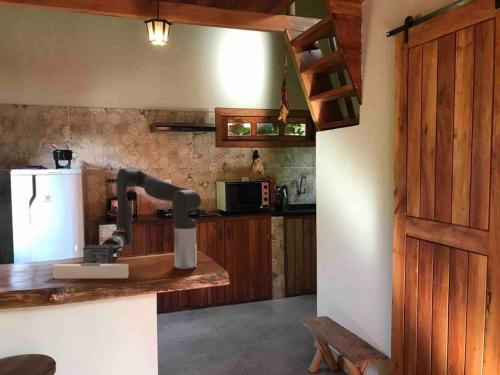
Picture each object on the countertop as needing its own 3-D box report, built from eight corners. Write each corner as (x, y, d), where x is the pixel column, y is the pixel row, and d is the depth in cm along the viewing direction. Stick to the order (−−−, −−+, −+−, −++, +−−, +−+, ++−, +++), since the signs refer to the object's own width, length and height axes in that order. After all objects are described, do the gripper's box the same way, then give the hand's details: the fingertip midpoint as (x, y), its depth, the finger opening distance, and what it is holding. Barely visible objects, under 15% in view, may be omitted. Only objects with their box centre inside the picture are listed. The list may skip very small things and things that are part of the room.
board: (128, 276, 155) (128, 262, 154) (126, 278, 152) (126, 264, 152) (55, 276, 153) (55, 263, 153) (52, 278, 151) (52, 264, 150)
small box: (114, 268, 165) (113, 244, 165) (109, 272, 159) (109, 247, 158) (88, 268, 165) (88, 244, 164) (83, 273, 158) (82, 247, 158)
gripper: (98, 236, 182) (85, 245, 165) (127, 236, 183) (117, 245, 166) (98, 252, 182) (85, 262, 165) (127, 252, 183) (117, 262, 166)
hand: (101, 253), depth 165 cm, fingers closed
